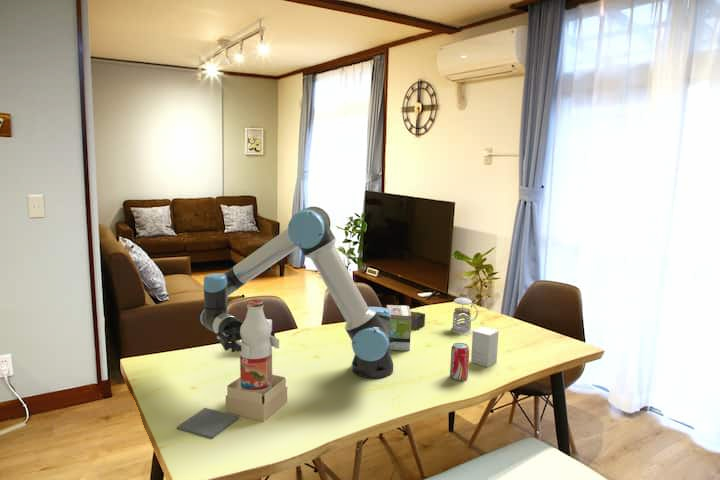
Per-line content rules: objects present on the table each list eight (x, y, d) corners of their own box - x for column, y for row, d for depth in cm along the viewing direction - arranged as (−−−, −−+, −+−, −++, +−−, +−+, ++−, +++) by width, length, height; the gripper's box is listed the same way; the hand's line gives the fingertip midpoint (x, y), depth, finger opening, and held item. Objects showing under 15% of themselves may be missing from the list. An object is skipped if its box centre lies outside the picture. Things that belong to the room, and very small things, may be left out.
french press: (449, 326, 233) (452, 273, 229) (475, 328, 232) (478, 275, 228) (450, 333, 223) (453, 278, 220) (477, 335, 222) (480, 280, 218)
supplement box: (497, 362, 192) (499, 330, 190) (487, 367, 187) (489, 335, 185) (480, 356, 197) (482, 325, 195) (470, 362, 192) (472, 330, 190)
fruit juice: (278, 390, 153) (278, 301, 148) (254, 401, 146) (252, 307, 141) (258, 381, 159) (257, 295, 154) (234, 391, 151) (232, 301, 147)
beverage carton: (388, 318, 243) (389, 305, 241) (425, 326, 233) (426, 312, 232) (381, 323, 236) (381, 309, 235) (418, 331, 226) (419, 316, 225)
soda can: (466, 382, 174) (468, 349, 172) (448, 379, 176) (450, 346, 174) (469, 375, 180) (471, 343, 178) (451, 372, 182) (453, 340, 180)
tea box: (410, 351, 201) (412, 315, 199) (385, 350, 202) (386, 314, 199) (407, 338, 216) (409, 304, 214) (384, 337, 217) (385, 304, 214)
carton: (287, 401, 157) (287, 377, 155) (263, 421, 144) (263, 395, 143) (251, 393, 161) (251, 369, 160) (225, 411, 149) (225, 386, 148)
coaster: (238, 418, 146) (238, 416, 146) (212, 438, 135) (212, 436, 135) (205, 409, 150) (205, 407, 150) (176, 428, 139) (176, 426, 139)
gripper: (259, 331, 171) (295, 351, 154) (196, 346, 157) (228, 369, 140) (258, 310, 170) (295, 327, 153) (195, 323, 156) (227, 343, 139)
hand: (263, 347), depth 146 cm, fingers closed on fruit juice, 9 cm apart
